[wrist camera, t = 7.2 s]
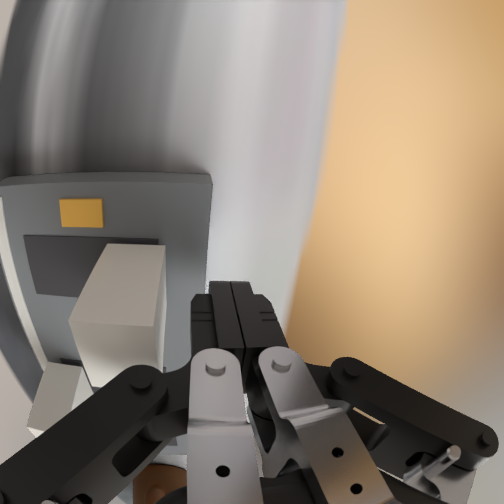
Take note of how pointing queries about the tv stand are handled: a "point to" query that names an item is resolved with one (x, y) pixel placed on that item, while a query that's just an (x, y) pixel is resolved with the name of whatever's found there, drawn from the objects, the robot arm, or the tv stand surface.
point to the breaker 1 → (57, 395)
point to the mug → (157, 482)
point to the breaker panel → (100, 250)
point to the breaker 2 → (122, 312)
